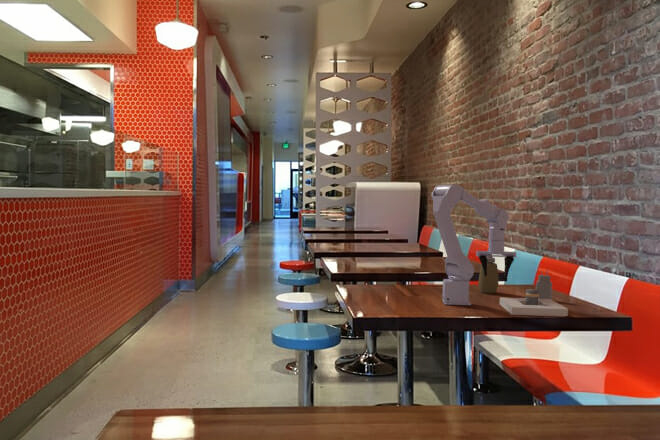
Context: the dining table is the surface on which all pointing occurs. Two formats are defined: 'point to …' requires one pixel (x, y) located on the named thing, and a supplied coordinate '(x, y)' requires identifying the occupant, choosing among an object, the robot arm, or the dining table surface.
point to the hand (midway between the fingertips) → (495, 275)
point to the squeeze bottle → (489, 277)
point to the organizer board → (533, 307)
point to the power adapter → (544, 287)
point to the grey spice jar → (532, 297)
